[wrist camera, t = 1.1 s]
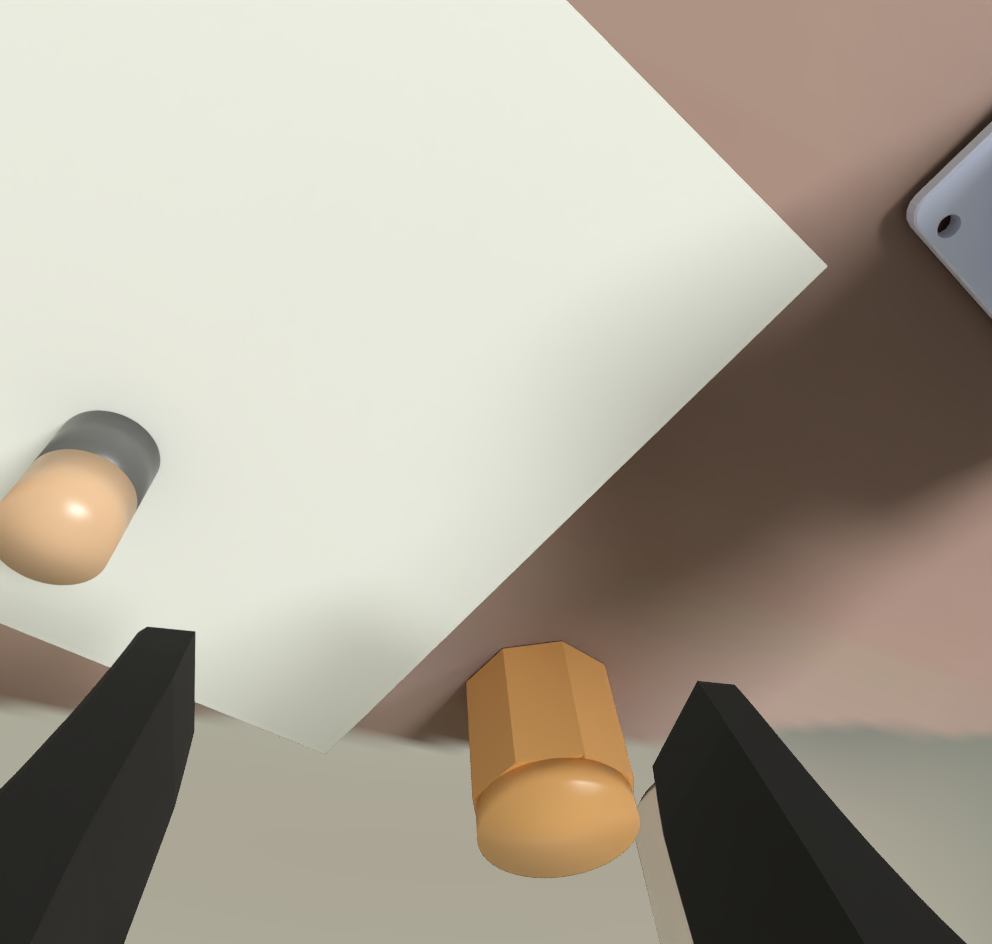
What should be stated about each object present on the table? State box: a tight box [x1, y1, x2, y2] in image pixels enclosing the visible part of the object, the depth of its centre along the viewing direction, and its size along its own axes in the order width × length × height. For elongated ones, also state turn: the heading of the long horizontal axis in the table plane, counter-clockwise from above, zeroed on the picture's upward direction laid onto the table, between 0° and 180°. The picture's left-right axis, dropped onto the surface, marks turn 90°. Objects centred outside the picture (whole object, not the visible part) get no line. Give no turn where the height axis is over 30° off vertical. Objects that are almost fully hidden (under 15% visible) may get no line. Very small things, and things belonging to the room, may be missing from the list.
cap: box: [466, 641, 640, 878], centre depth 23 cm, size 5×5×5 cm
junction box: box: [0, 0, 828, 754], centre depth 15 cm, size 14×18×6 cm
